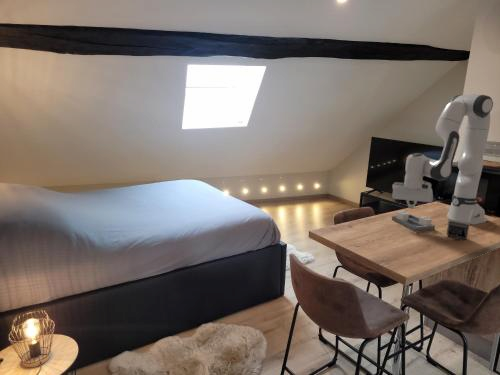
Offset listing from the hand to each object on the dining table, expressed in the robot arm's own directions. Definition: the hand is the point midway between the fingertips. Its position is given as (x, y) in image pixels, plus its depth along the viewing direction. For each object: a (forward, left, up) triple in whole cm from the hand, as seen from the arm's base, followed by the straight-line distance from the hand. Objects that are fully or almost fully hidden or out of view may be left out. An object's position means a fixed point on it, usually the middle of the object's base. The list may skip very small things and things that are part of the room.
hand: (411, 208), depth 198 cm
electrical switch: (-11, +22, -10) cm, 26 cm away
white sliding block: (+1, -5, -9) cm, 10 cm away
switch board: (-2, 0, -10) cm, 10 cm away
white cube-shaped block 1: (-5, +6, -9) cm, 12 cm away
